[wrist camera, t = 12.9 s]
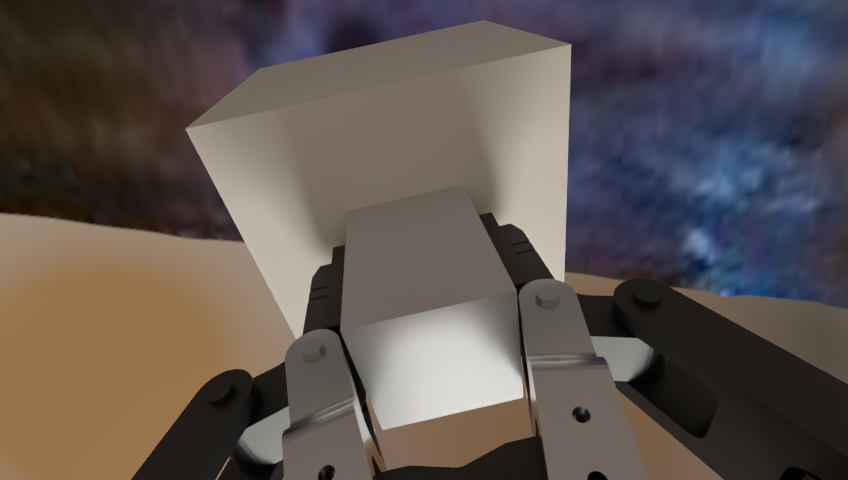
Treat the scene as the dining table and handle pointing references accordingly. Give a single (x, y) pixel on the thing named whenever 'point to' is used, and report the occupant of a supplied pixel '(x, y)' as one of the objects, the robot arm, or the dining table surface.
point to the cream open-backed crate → (404, 199)
